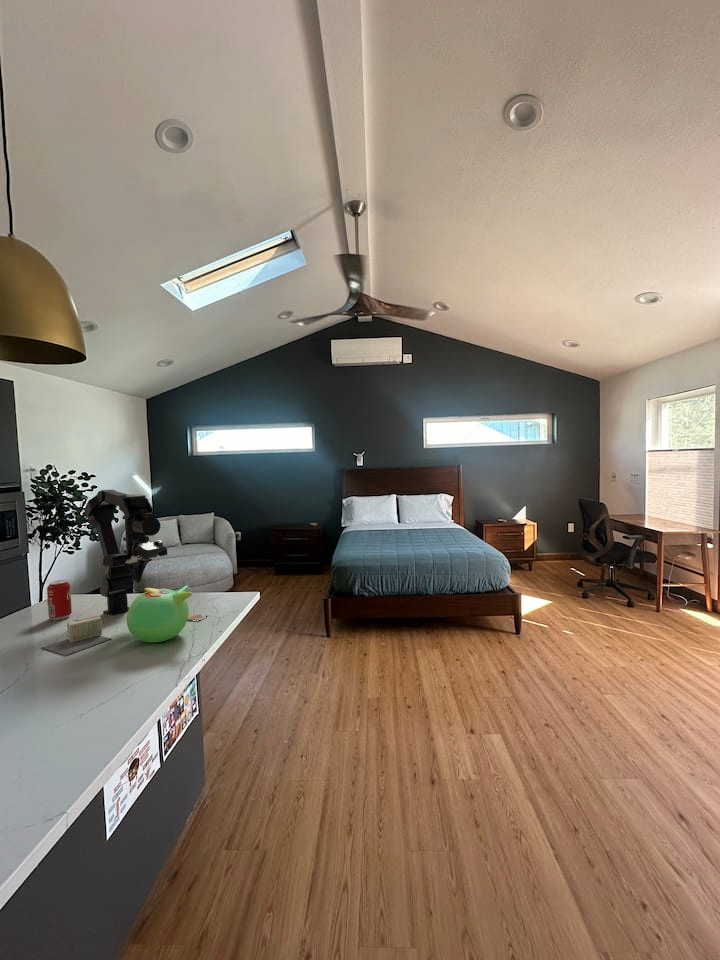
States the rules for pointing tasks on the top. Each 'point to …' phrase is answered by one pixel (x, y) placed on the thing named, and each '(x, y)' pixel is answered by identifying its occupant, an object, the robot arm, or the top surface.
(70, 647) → the mat
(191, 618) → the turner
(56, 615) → the beverage can
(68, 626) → the small box
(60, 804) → the top surface
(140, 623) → the toy bird
